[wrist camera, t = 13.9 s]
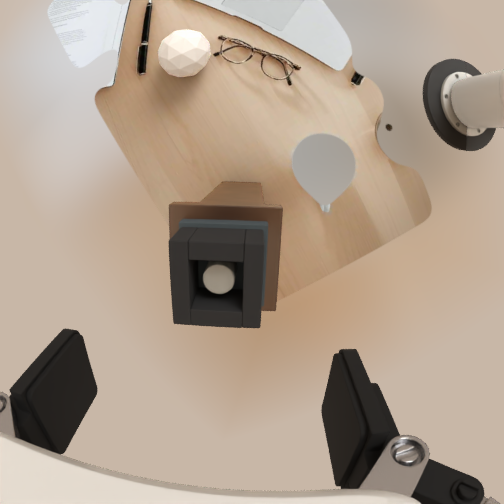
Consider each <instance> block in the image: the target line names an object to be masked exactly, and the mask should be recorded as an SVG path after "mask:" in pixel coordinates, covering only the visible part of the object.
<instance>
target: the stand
mask: <svg viewBox="0 0 504 504" xmlns="http://www.w3.org/2000/svg"><path fill="white" fill-rule="evenodd" d="M282 213H283V208H282V206H281V205H268V204H264V198H263V192H262V186H261V183H253V182H221V183H220V184H219V185H218V186H217V187H216V188H215V189H214V190H213V191H212V192H211V193H210V194H208V195H207V196H206V197H205V198H204V199H203V200H202V201H201V202H172V203H171V204H169V230H170V239H171V238H172V237H173V235H174V234H175V233H176V232H177V231H178V230H179V222H180V221H181V220H182V219H213V220H244V221H267V222H268V242H267V261H266V279H265V296H264V306H263V307H262V306H261V311H275V310H276V302H277V289H278V275H279V261H280V246H281V230H282Z"/></svg>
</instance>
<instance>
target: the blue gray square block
mask: <svg viewBox="0 0 504 504" xmlns="http://www.w3.org/2000/svg"><path fill="white" fill-rule="evenodd" d="M181 227H197V228H199V227H200V228H231V229H257V230H263V232H264V243H265V249H264V269H263V287H262V305H261V306H262V307H263V306H264V296H265V279H266V261H267V242H268V222H267V221H244V220H213V219H182V220H181V221H180V222H179V229H180V228H181ZM243 268H244V261H243V262H229V261H205V260H198V274H199V287H202V288H207V289H208V290H209V291H211V292H213V293H216V294H223V293H226V292H228V291H229V290H231V289H243Z"/></svg>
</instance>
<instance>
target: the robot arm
mask: <svg viewBox="0 0 504 504" xmlns="http://www.w3.org/2000/svg"><path fill="white" fill-rule="evenodd" d="M441 104H442V108H443V111H444V114H445V116H446V118H447V120H448V121H449V123H450V124H451V125H452V127H454V128H455V129H456V130H457V131H458V132H460V133H461V134H464V135H467V136H477V135H480V134H481V133H483V132H484V131H485V130H486V128H504V70H499V71H494V72H490V73H486V74H481V75H477V76H472V75H470V74H468V73H465V72H456V73H453V74H450V75H449V76H448V77H446V79H445V80H444V82H443V84H442V87H441ZM10 392H11V395H10V397H8V395H7V394H5V393H3V392H0V504H500V503H499V502H497V501H496V500H495V499H493V498H492V497H490V498H489V499H487V498H486V497H484V488H483V486H482V484H481V483H480V482H479V481H478V479H476V478H474V477H472V476H470V475H467V474H465V473H462V472H460V471H457V470H455V469H452V468H450V467H448V466H445V465H443V464H440V463H438V462H436V461H434V460H431V459H429V455H430V453H429V448H428V447H427V445H426V443H424V442H423V441H422V440H421V439H419V438H417V437H415V436H411V435H401V436H400V434H399V432H398V430H397V427H396V425H395V423H394V420H393V418H392V415H391V413H390V411H389V408H388V406H387V404H386V401H385V399H384V397H383V394H382V392H381V390H380V388H379V386H378V384H376V383H371V382H370V380H369V377H368V375H367V373H366V370H365V368H364V366H363V363H362V361H361V359H360V356H359V354H358V352H357V350H356V349H341V350H340V351H339V353H337V354H334V356H333V361H332V365H331V370H330V375H329V379H328V384H327V388H326V392H325V396H324V400H323V404H322V418H323V423H324V428H325V433H326V438H327V443H328V447H329V453H330V459H331V464H332V469H333V474H334V480H335V484H336V486H341V489H336V490H335V489H333V490H310V491H250V490H230V489H217V488H207V487H198V486H190V485H183V484H176V483H169V482H163V481H158V480H153V479H147V478H143V477H138V476H133V475H128V474H125V473H120V472H116V471H112V470H109V469H104V468H101V467H97V466H94V465H91V464H87V463H84V462H81V461H78V460H75V459H72V458H69V457H66V456H63V455H61V454H63V453H64V452H65V451H66V449H67V447H68V445H69V443H70V442H71V439H72V438H73V436H74V434H75V432H76V430H77V429H78V427H79V425H80V423H81V421H82V419H83V418H84V416H85V414H86V412H87V411H88V409H89V407H90V405H91V404H92V402H93V400H94V398H95V397H96V395H97V385H96V382H95V379H94V375H93V372H92V369H91V365H90V362H89V358H88V354H87V351H86V347H85V343H84V339H83V336H82V335H80V333H79V332H78V331H77V330H71V329H63V330H62V331H61V332H60V333H59V334H58V335H57V336H56V337H55V339H54V340H53V341H52V342H51V343H50V344H49V345H48V346H47V348H45V350H44V351H43V352H42V353H41V354H40V355H39V356H38V357H37V359H36V360H35V361H34V362H33V363H32V364H31V365H30V366H29V368H28V369H27V370H26V371H25V372H24V373H23V374H22V376H21V377H20V378H19V379H18V380H17V382H16V383H15V384H14V385H13V386H12V387H11V389H10Z"/></svg>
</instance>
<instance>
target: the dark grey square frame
mask: <svg viewBox="0 0 504 504" xmlns="http://www.w3.org/2000/svg"><path fill="white" fill-rule="evenodd" d="M264 249H265V243H264V232H263V230H257V229H231V228H200V227H199V228H197V227H181V228H180V229H179V230H178V231H177V232H176V233H175V234H174V235H173V237H172V238H171V239H170V240H169V259H170V260H169V261H170V279H171V295H172V309H173V321H174V324H185V325H199V326H215V327H235V328H236V327H237V328H241V327H243V328H260V322H261V305H262V287H263V269H264ZM198 260H205V261H229V262H243V261H244V268H243V289H231V290H229V291H228V292H226V293H223V294H216V293H213V292H211V291H209V290H208V289H207V288H202V287H199V274H198Z"/></svg>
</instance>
